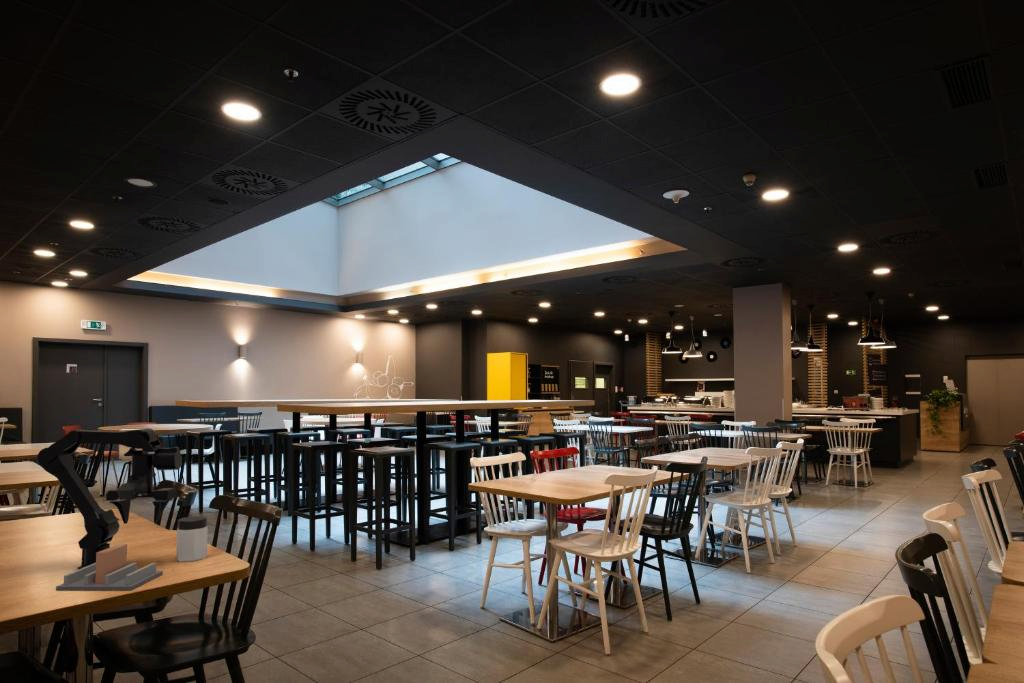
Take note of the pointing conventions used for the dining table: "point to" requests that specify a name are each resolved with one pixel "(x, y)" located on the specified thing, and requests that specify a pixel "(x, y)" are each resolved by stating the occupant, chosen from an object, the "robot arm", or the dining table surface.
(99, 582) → the brown flat rectangular slab
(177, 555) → the jar
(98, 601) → the dining table surface
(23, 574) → the dining table surface
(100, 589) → the rack
